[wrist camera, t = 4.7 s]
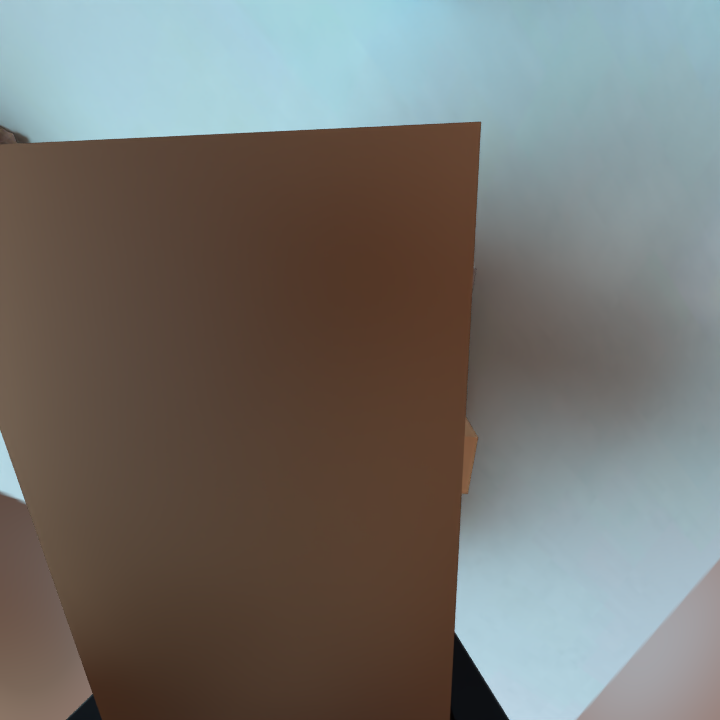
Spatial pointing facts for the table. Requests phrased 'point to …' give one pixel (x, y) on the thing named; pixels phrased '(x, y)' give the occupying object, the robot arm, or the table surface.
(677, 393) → the table surface
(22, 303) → the batten
